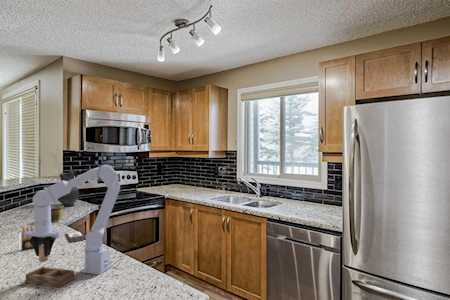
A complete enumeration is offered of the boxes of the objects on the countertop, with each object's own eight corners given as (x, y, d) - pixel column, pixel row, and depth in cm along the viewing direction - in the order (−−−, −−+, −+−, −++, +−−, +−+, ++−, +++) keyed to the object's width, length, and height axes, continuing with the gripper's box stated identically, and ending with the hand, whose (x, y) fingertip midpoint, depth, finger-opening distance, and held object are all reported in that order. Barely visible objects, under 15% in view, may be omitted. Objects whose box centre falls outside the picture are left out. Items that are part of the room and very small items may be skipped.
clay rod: (49, 259, 118) (49, 244, 118) (44, 262, 115) (44, 246, 115) (42, 258, 119) (42, 243, 118) (37, 261, 116) (36, 246, 116)
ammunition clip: (46, 245, 156) (45, 222, 155) (46, 246, 154) (46, 223, 154) (21, 250, 149) (20, 226, 148) (21, 251, 147) (21, 227, 147)
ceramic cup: (66, 219, 208) (66, 205, 208) (57, 223, 198) (57, 208, 198) (49, 219, 210) (49, 205, 210) (39, 223, 200) (39, 208, 200)
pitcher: (51, 207, 248) (50, 172, 247) (68, 203, 268) (68, 169, 268) (70, 208, 245) (69, 172, 244) (86, 203, 265) (85, 170, 265)
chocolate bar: (69, 242, 159) (65, 233, 173) (69, 243, 159) (65, 235, 173) (88, 238, 164) (82, 231, 179) (88, 240, 164) (82, 232, 179)
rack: (75, 277, 117) (75, 270, 117) (59, 287, 109) (59, 279, 109) (42, 273, 121) (42, 266, 121) (24, 282, 113) (24, 274, 113)
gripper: (66, 219, 120) (67, 252, 120) (33, 218, 121) (33, 251, 122) (54, 223, 113) (55, 259, 113) (19, 222, 114) (20, 257, 115)
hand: (43, 255), depth 117 cm, fingers closed on clay rod, 3 cm apart
